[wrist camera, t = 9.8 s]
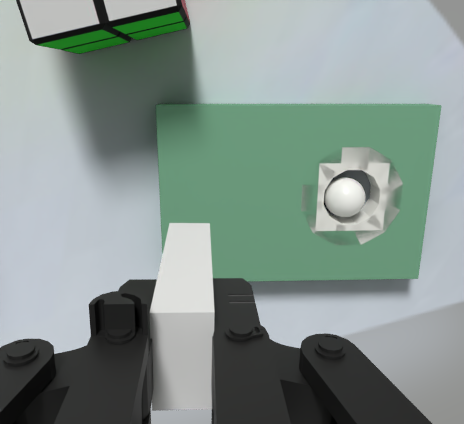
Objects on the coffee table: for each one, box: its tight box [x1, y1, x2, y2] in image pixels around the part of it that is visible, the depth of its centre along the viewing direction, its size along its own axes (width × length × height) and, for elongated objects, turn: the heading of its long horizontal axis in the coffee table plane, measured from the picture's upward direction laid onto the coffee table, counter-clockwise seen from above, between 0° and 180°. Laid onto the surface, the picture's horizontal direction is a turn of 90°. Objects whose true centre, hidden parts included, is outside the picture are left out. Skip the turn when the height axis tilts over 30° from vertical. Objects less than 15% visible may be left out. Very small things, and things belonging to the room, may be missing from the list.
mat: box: [156, 104, 441, 281], centre depth 40 cm, size 24×16×2 cm, turn 90°
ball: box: [324, 177, 365, 217], centre depth 40 cm, size 4×4×4 cm
